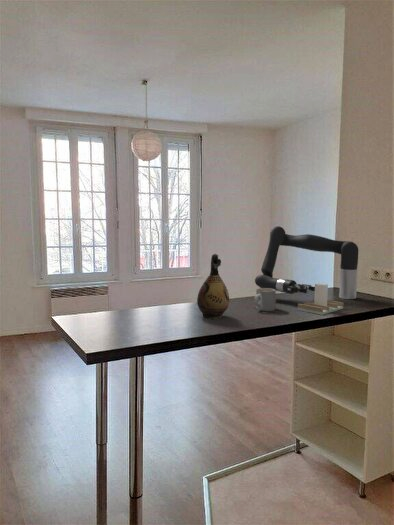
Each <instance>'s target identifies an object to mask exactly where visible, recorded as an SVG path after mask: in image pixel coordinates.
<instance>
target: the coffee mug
mask: <svg viewBox="0 0 394 525" xmlns="http://www.w3.org/2000/svg"><path fill="white" fill-rule="evenodd" d="M255 293H256V294H255V295H254V298H253V304H254V305H255V309H256V310H258V311H261V312H262V311H263V312H264V311H265V312H271V311H275V310H276V298H277V297H276V296H277V291H276V290H275V289H270V288H260V287H259V288H257V289H256V291H255Z"/></svg>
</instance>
